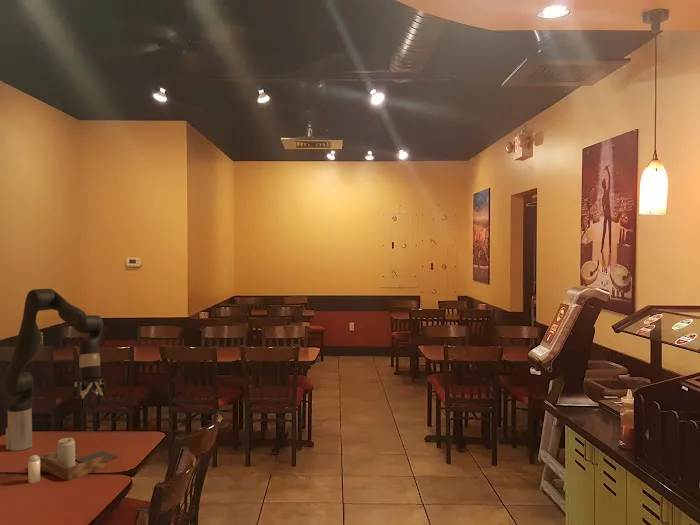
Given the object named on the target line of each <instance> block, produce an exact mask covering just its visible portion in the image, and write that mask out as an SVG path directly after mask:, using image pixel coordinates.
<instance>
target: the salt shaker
mask: <svg viewBox="0 0 700 525" xmlns="http://www.w3.org/2000/svg"><path fill="white" fill-rule="evenodd" d="M39 456H40V455H37V454H32V455H31V456H30V457H29V458H28V461H27V467H28V471H27V472H28V473H27V474H28V475H27V476H28V478H27V479H28V480H27V481H28V483H29V484H33V483H38V482H40V481H41V469H40V457H39Z"/></svg>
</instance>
